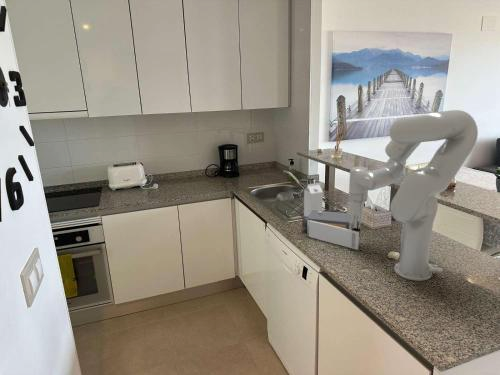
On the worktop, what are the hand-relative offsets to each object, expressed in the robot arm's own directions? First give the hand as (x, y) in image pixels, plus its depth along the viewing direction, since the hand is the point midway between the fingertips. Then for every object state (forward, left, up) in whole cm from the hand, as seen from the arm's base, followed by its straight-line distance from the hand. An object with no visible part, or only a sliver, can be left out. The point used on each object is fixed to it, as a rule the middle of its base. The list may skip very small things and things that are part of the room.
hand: (355, 236), depth 148 cm
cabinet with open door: (+14, -11, -5) cm, 19 cm away
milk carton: (+24, -30, -5) cm, 39 cm away
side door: (+10, 0, -4) cm, 11 cm away
